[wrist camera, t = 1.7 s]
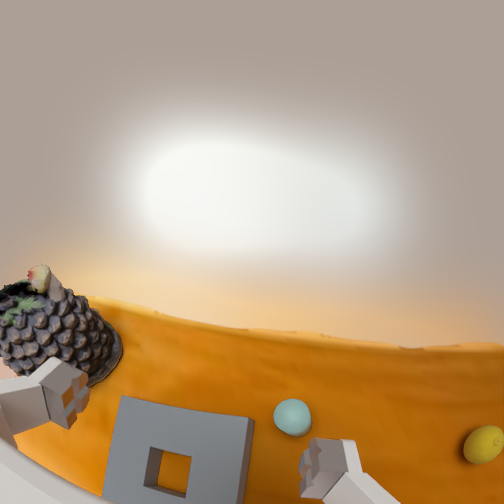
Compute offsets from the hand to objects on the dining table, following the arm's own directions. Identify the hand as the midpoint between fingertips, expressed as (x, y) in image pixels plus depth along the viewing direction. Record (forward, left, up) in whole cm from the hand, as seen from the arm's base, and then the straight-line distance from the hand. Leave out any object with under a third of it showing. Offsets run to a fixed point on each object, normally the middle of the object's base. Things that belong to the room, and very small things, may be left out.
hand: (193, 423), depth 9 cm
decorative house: (+38, -9, -34) cm, 52 cm away
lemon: (-27, +2, -34) cm, 43 cm away
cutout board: (+15, +6, -34) cm, 38 cm away
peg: (-1, -4, -34) cm, 34 cm away
